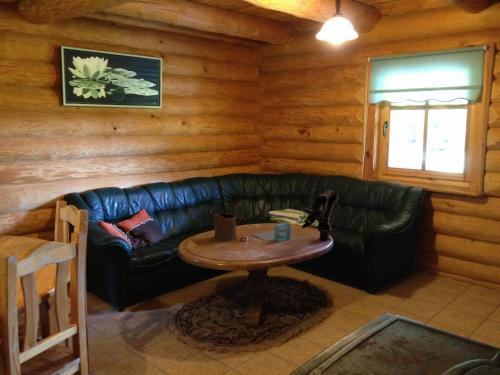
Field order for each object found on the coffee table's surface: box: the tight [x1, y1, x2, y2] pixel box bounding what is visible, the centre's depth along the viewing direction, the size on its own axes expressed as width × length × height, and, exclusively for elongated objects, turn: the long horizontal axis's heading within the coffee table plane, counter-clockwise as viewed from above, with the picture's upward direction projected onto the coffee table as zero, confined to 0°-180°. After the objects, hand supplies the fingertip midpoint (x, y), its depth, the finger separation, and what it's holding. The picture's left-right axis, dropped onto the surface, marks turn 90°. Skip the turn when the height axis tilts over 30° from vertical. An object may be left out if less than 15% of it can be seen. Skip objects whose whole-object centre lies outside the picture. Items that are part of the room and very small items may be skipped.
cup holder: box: [212, 203, 244, 243], centre depth 326 cm, size 18×24×25 cm
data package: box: [274, 222, 291, 243], centre depth 321 cm, size 12×4×12 cm, turn 130°
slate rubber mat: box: [251, 229, 291, 242], centre depth 333 cm, size 22×20×1 cm
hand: (303, 227), depth 314 cm, fingers open, 9 cm apart
